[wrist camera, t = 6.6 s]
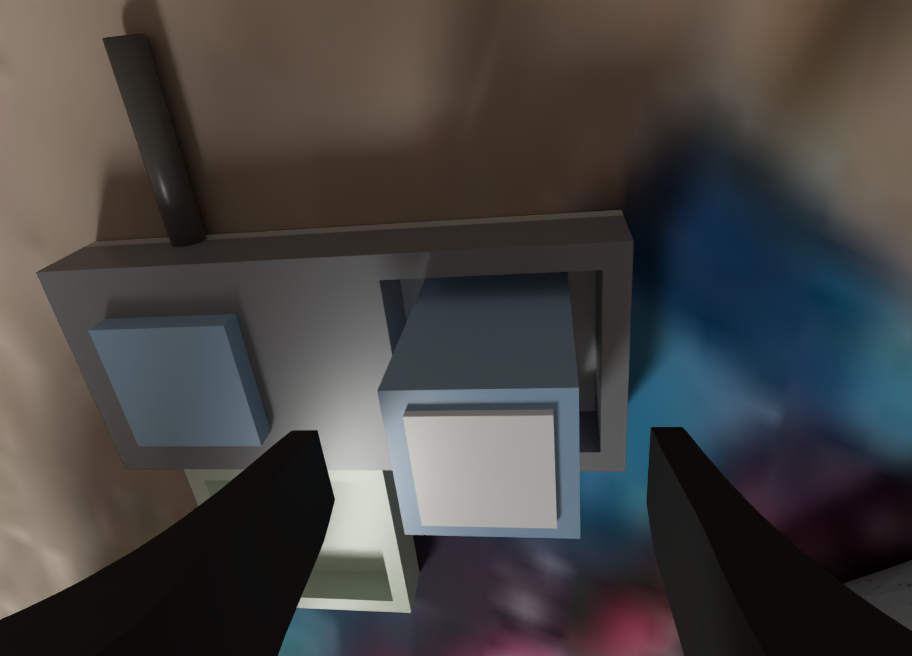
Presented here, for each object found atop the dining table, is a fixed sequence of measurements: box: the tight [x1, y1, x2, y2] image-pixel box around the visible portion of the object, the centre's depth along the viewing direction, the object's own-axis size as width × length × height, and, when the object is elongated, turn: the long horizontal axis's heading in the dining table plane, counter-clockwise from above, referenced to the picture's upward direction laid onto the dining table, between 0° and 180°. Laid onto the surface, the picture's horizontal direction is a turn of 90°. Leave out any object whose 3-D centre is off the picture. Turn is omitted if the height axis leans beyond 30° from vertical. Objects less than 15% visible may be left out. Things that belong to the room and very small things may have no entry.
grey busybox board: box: [36, 34, 634, 472], centre depth 17 cm, size 12×16×3 cm
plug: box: [377, 272, 580, 539], centre depth 15 cm, size 4×4×6 cm
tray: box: [184, 469, 420, 613], centre depth 22 cm, size 7×7×2 cm
